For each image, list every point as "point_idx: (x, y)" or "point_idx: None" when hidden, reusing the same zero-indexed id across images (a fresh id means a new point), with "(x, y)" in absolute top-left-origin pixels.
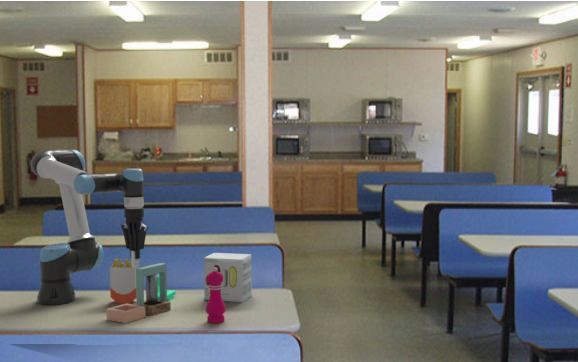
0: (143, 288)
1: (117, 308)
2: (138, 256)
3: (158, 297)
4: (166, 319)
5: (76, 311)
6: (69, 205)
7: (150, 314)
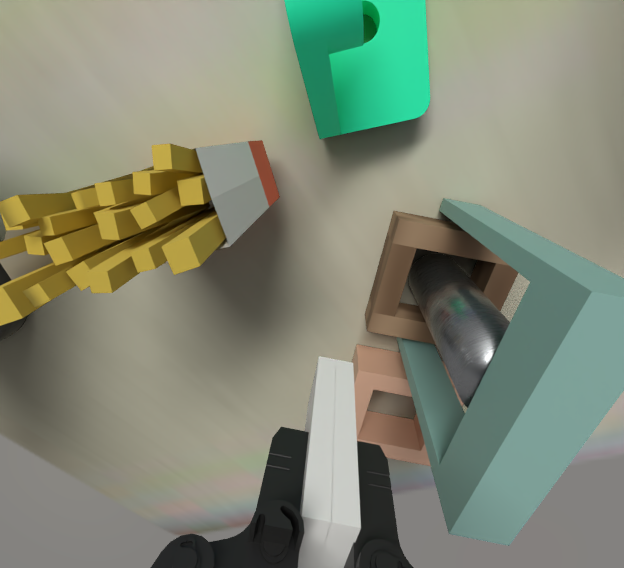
0: (464, 414)
1: (361, 421)
2: (376, 479)
3: (386, 124)
4: None
5: (165, 370)
6: None
7: None
